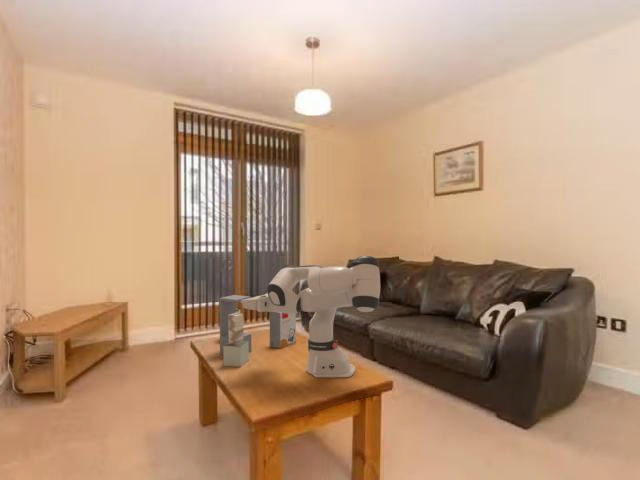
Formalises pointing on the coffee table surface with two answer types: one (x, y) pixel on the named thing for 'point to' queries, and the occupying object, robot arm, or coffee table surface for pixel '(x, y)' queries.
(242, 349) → the stand
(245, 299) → the robot arm
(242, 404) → the coffee table surface
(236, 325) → the block
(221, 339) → the grey podium
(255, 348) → the coffee table surface
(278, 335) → the hard drive box
